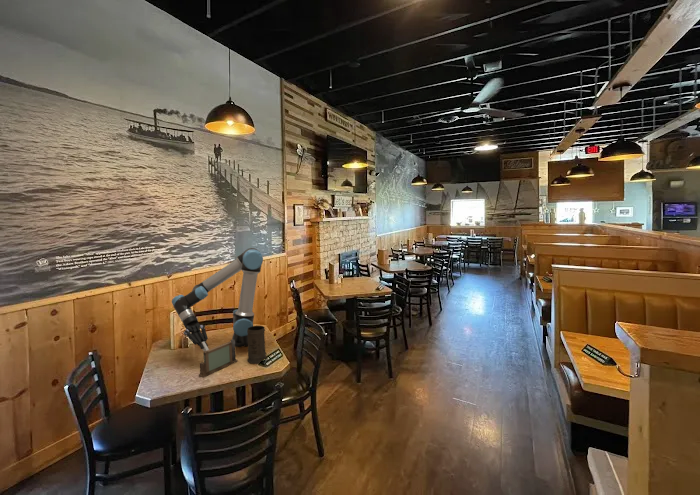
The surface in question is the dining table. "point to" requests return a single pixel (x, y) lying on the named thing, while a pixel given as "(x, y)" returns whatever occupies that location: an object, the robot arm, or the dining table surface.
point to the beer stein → (256, 344)
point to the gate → (218, 356)
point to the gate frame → (203, 366)
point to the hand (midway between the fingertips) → (207, 352)
